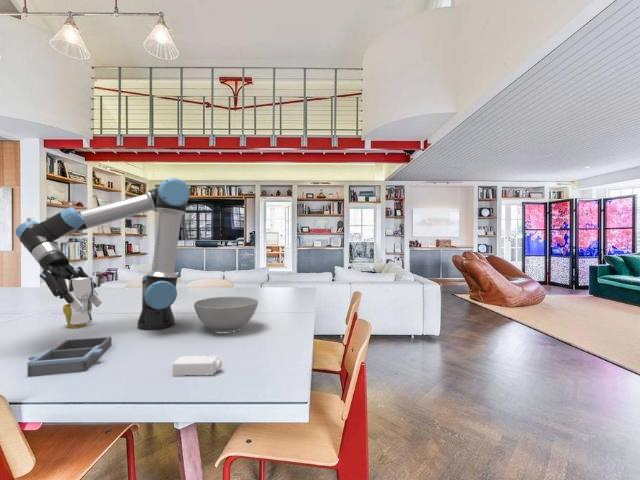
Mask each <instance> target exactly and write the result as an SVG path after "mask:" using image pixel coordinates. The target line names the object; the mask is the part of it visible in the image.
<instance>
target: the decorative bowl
mask: <svg viewBox="0 0 640 480" xmlns="http://www.w3.org/2000/svg"><path fill="white" fill-rule="evenodd" d="M258 305H259V300H258V299H256V298H253V297H249V296H248V297H247V296H246V297H245V296H220V297H219V296H217V297H211V298H210V297H209V298H203V299H200V300H197V301H195V302H194V303H193V306H194V311H195V313H196V315H197V317H198V318H199V320H200V321H201V323H203V325H205V326H206V327H207V328H210V329H211V332H213V331H214V332H213V333H215V332H232V333H234V332H233V331H236V332H238V331H237V330H239V329H240V330H242V327H243V326H245V325H246V324H248V322H249V321H250V320H251V319H252V318H253V316H254V314H255V312H256V310H257V308H258ZM240 330H239V331H240Z"/></svg>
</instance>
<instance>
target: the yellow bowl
mask: <svg viewBox="0 0 640 480" xmlns="http://www.w3.org/2000/svg"><path fill="white" fill-rule="evenodd" d="M92 310H93V304H92V305H91V312H92ZM62 313H63V314H64V317H65V320H66V324H67V327H68V328H69V329H78V328H79V329H80V328H83V327H84V328H85V327H86V326H87V325H88V323H85V324H77V325H73V324H70V321H71V316H72V310H71V305H70V304H69V303H65V304H64V305H63V306H62Z"/></svg>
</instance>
